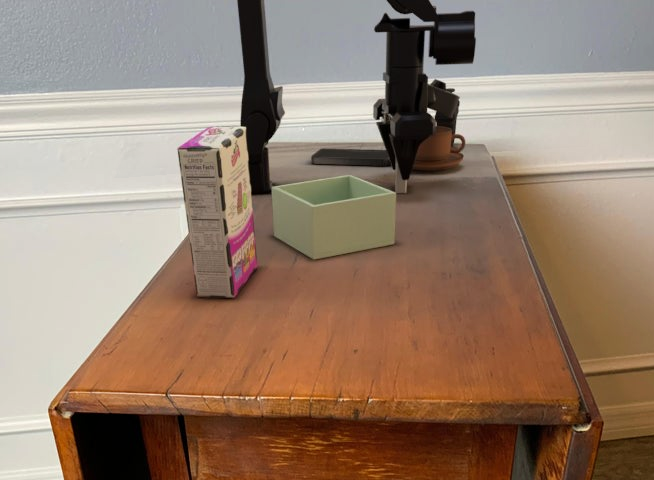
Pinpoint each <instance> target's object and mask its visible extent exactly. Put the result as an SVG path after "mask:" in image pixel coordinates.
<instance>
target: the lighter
mask: <svg viewBox="0 0 654 480" xmlns="http://www.w3.org/2000/svg"><path fill="white" fill-rule="evenodd" d="M394 172H395V173H394V190H395V191H394V192H395V193H396V194H406V193H407V187H408V186H407V183H408V180H402V177H401V174H400V171H399V167H398V164H397V161H396V169H395V170H394Z"/></svg>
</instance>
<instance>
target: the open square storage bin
mask: <svg viewBox="0 0 654 480" xmlns="http://www.w3.org/2000/svg"><path fill="white" fill-rule="evenodd" d="M271 203H272V223H273V236H274V238H276V239H279V240H280V241H282V242H283V243H284V244H286V245H288V246H289V247H292V248H293V249H295V250H297V251H299V252H300V253H302V254H303V255H305V256H307V257H309V258H310V259H312V260H313V261H314V260H318V259H319V260H320V259H325V258H330V257H334V256H335V257H336V256H339V255H345V254H350V253H355V252H362V251H367V250H371V249H376V248H380V247H381V248H382V247H386V246H391V245H395V239H396V237H395V236H396V207H397V193H395V191H392V190H391V189H388V188H385V187H382V186H380V185H377V184H375V183H373V182H369V181H367V180H365V179H362V178H359V177H358V176H354V175H352V174H345V175H338V176H333V177H332V176H331V177H327V178H320V179H313V180H307V181H300V182H294V183H288V184H281V185H275V186H274V185H273V187H272V192H271Z"/></svg>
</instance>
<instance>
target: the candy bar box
mask: <svg viewBox="0 0 654 480" xmlns="http://www.w3.org/2000/svg"><path fill="white" fill-rule="evenodd" d="M176 149H177V157H178V163H179V169H180V170H179V173H180V180H181V187H182V195H183V202H184V203H183V204H184V209H185V216H186V224H187V230H188V231H187V233H188V239H189V246H190V253H191V261H192V262H191V263H192V270H193V278H194V286H195V292H196V296H197V297H199V298H206V299H207V298H214V299H215V298H216V299H235V298H236V297H237V295H238V294H239V292H240V291H241V290H242V289H243V287H244V286H245V284H246V283H247V281H248V280H249V278H250V277H251V276H252V275H253V274H254V272H255V270H256V269H257V268H258V256H257V246H256V244H257V243H256V234H255V233H256V232H255V223H254V221H255V220H254V210H253V209H254V208H253V199H252V198H253V197H252V193H251V183H250V172H249V159H248V148H247V136H246V127H241V126H227V125H226V126H217V125H216V126H209V127H206V128H205V129H203V130H201V132H199V133H197V134H196V135H194V136H193V137H191V138H190V139H188V140H187V141H186V142H184V143H182V144H181V145H180V146H178V147H177V148H176Z"/></svg>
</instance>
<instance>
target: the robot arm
mask: <svg viewBox="0 0 654 480" xmlns="http://www.w3.org/2000/svg"><path fill="white" fill-rule="evenodd" d="M236 2H237V12H238V23H239V24H238V25H239V33H240V43H241V45H240V46H241V56H242V66H243V67H242V68H243V76H244V77H243V87H242V95H241V102H240V103H241V105H240V123H239V124H240V127H246V136H247V148H248V159H249V172H250V183H251V194H261V193H272V187H274V185H273V183H272V180H271V175H270V173H271V172H270V157H269V148H268V147H266V146H267V145H268V144H269V142H270V140H272V138H273V137H274V135H275V134H276V132H277V131H278V129H279V127H280V125H281V122H282V119H283V117H284V116H285V114H286V112H285V111H286V110H285V109H284V106H283V88H284V87H283V86H282V85H281V86H277V87H275V85H274V81H273V79H272V75H271V70H270V58H269V57H270V56H269V46H268V32H267V19H266V6H265V0H236ZM386 2H387V3H388V4H389V6H390V7H391V9H393V10H394V12H396V13H399V14H401V15H411V14H413V15H414V16H415V17H417V18H418V19H419V20H421V21H422V22H423V23H433V24H427V25H426V24H424V25H411V18H410V17H400V18H399V17H396V18H392V17H390V16H389V14H388V13H387V12H384V13H383V15H382V17H381V19H379V21H378V23H376V24H375V26H374V27H373V28H374V29H373V31H374V33H386V34H385V35H386V37H385V39H386V42H385V46H386V47H385V72H382V81H384V82H385V83H384V88H385V89H384V98H378V99H377V100H376V102H375V103H374V104H373V108H372V109H373V110H372V111H373V113H372V118H373V119H374V120H375V121H376V123H375V124H376V127H377V130H378V132H379V134H380V137H381V141H382V143H383V146H384V148H385V150H386V151H387V154H388V157H389V160H390V163H391V165H390V166H391V168H392V170H393V171H395V169H396V161H397V164H398V167H399V171H400V174H401V177H402V180H407V181H409V180H410V179H411V174H412V172H413V169H412V168H413V164H414V161H415V157H416V154H417V151H418V148H419V146H420V144H421V143H423V142H424V141H425V140H426V139H428V138H429V137H430V136H431V135H435V132H436V120H435V119H434V118H435V117H434V116H432V115H431V113H429V112H428V109H430V110H432V111H435V112H436V111H437V112H440V113H443V114H444V115H445V116H447V117H450V118H452V116H453V114H454V111H455V108H456V106H457V103H458V101H460V98H461V97H460V95H457V94H455V93H454V92H452V93H451V92H449V91H446V89H447V83H446V82H444V81H442V80H439V79H436V78H434V80H433V81H432V82H431V83H430V84H429V76H428V75H427V74H426V73H425V72H424V63H425V44H426V43H425V40H426V32H429V33H428V52H427V54H428V56H427V57H428V58H432V59H433V60H434V63H435V66H443V65H445V66H446V65H473V64H474V60H475V56H476V55H475V54H476V46H477V45H476V43H477V37H476V36H475V35H476V12H475V11H474V10H464V11H460V12H443V13H442V12H441V13H438V12H437V6H436V5H432V3H431V0H386Z"/></svg>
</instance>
